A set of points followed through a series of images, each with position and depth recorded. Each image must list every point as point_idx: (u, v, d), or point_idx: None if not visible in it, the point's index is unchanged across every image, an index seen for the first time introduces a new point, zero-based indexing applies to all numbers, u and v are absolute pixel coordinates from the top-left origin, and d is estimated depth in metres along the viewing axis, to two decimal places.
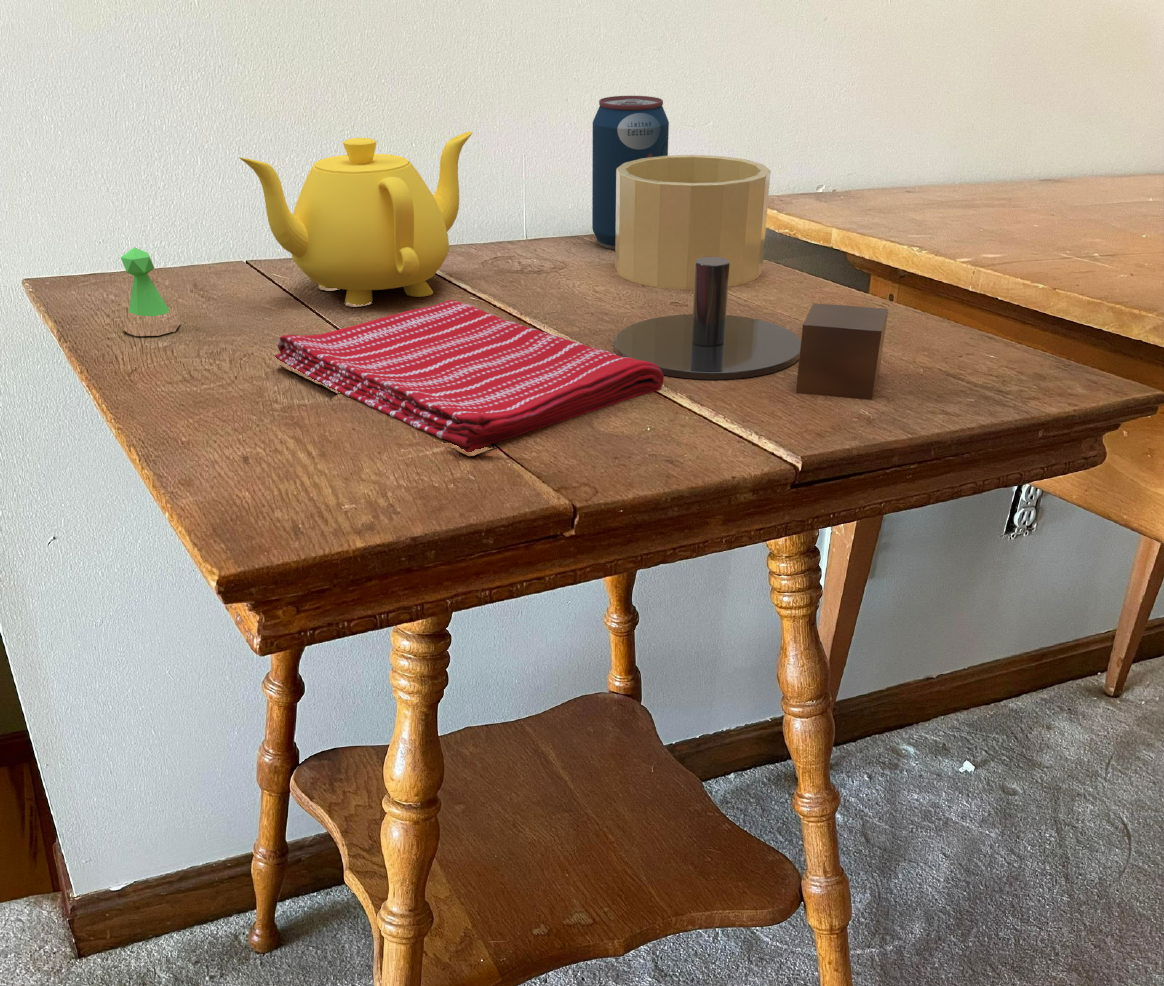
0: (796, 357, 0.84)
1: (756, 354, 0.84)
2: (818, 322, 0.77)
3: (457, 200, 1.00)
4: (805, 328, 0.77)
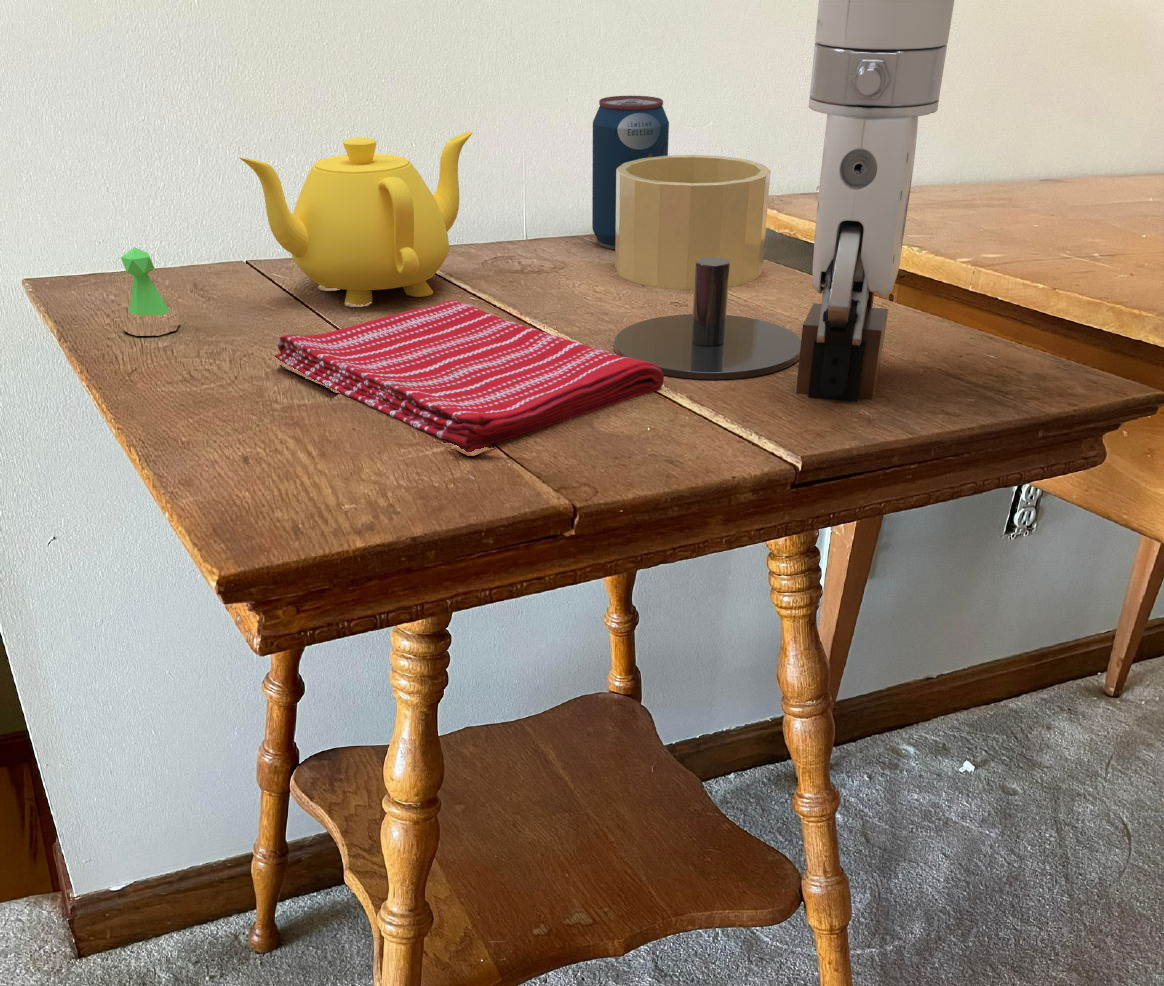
0: (796, 357, 0.84)
1: (756, 354, 0.84)
2: (818, 322, 0.77)
3: (457, 200, 1.00)
4: (805, 328, 0.77)
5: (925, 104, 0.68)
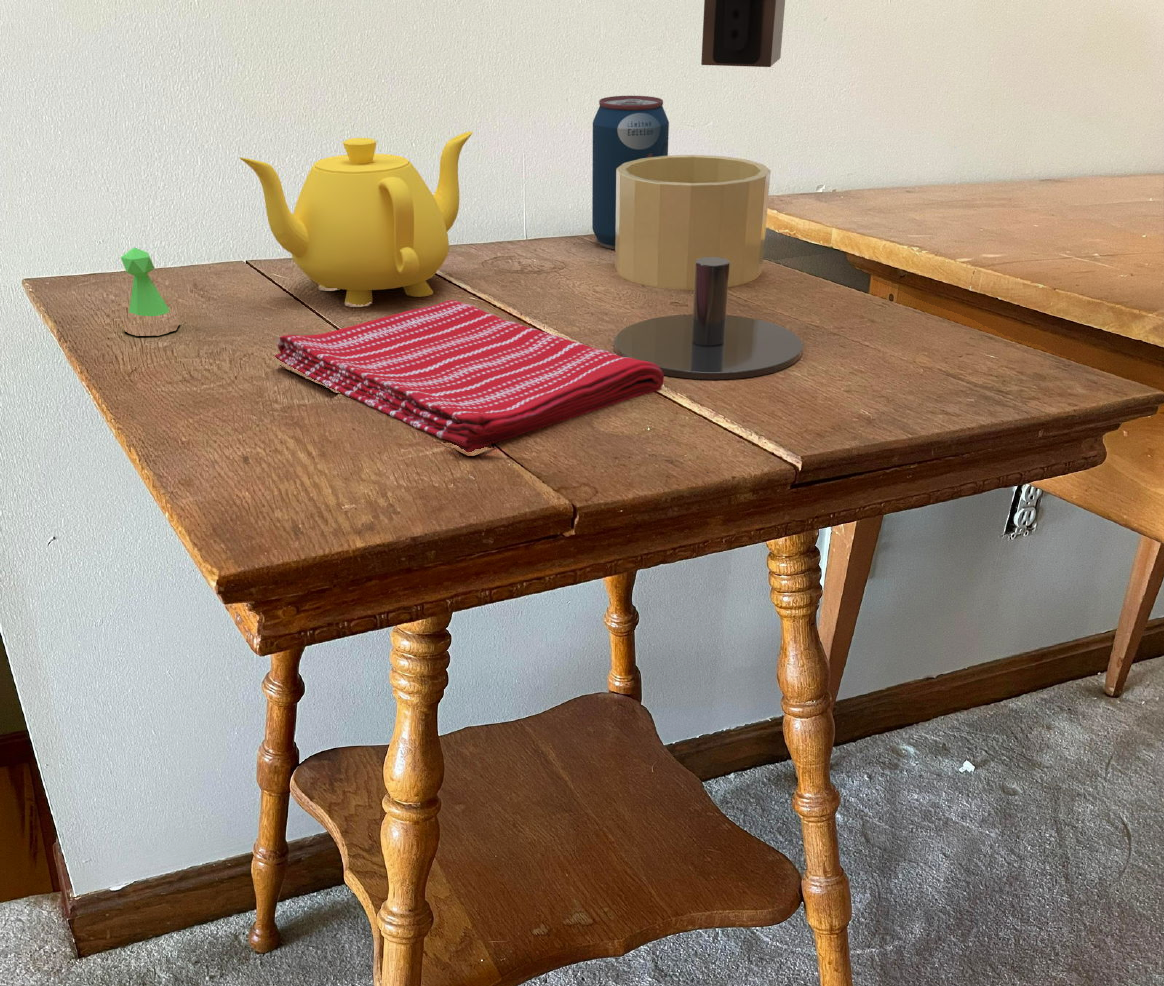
0: (796, 357, 0.84)
1: (756, 354, 0.84)
2: None
3: (457, 200, 1.00)
4: None
5: None
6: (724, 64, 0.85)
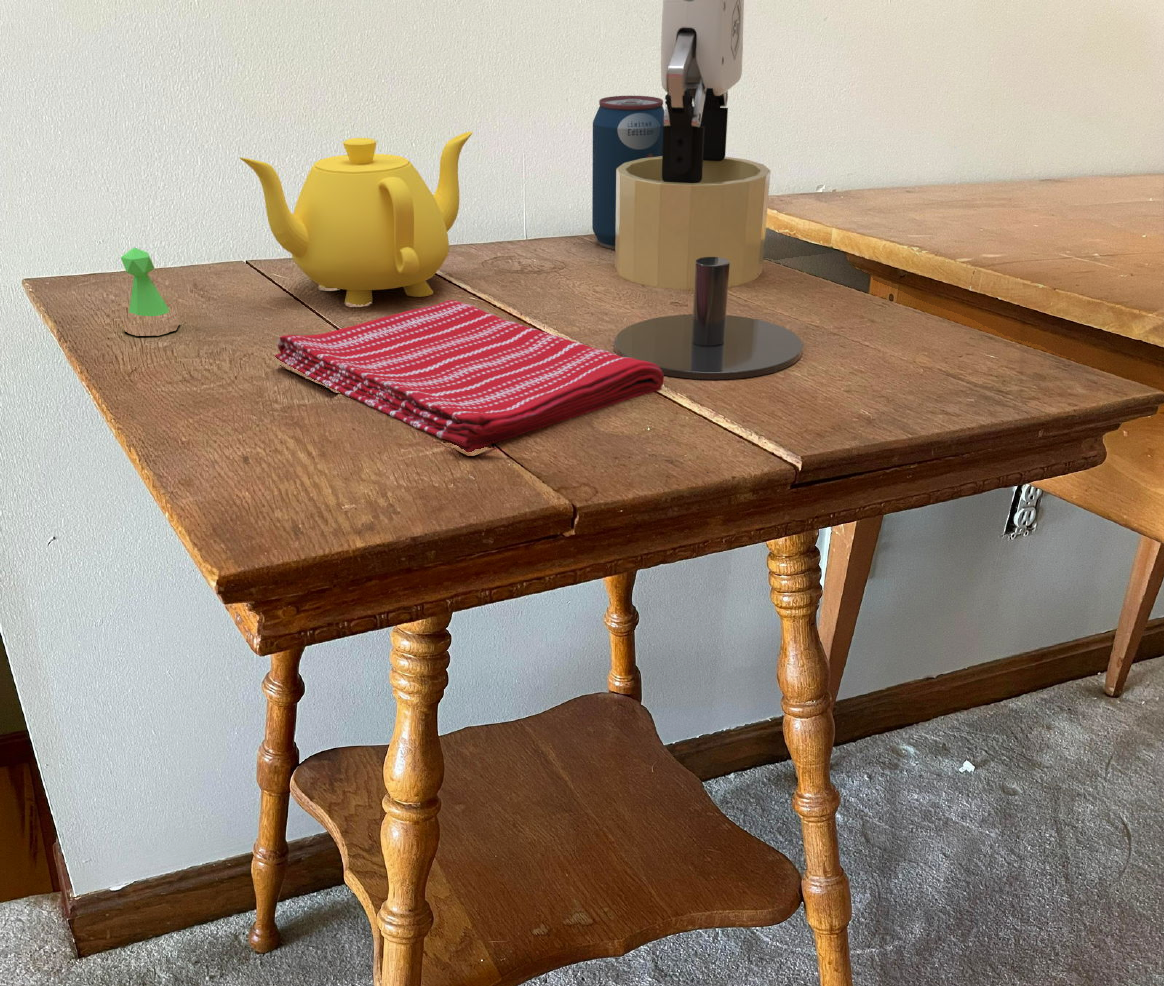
0: (796, 357, 0.84)
1: (756, 354, 0.84)
2: None
3: (457, 200, 1.00)
4: None
5: None
6: None
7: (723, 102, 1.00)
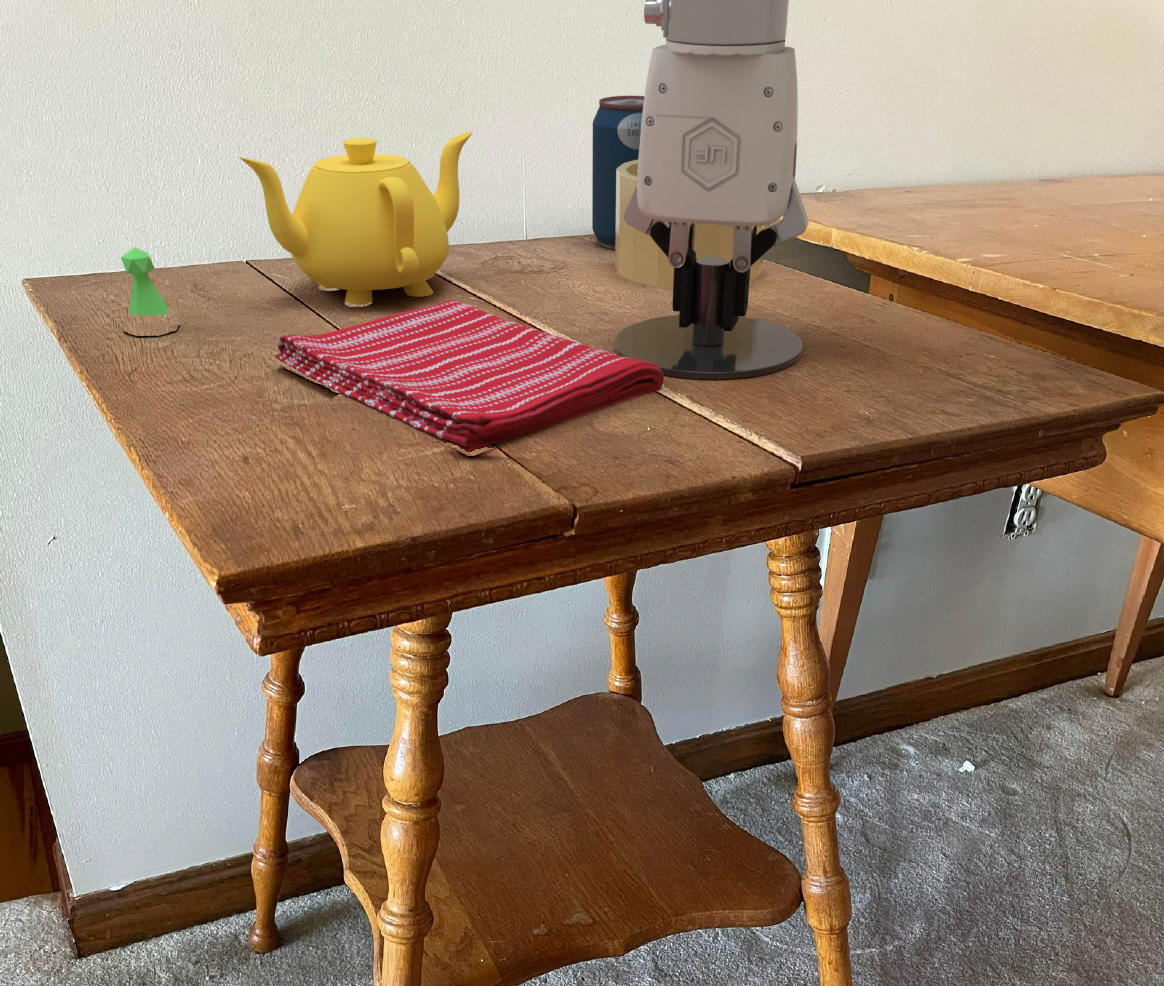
0: (796, 357, 0.84)
1: (756, 354, 0.84)
2: None
3: (457, 200, 1.00)
4: None
5: (687, 43, 0.73)
6: None
7: (733, 259, 0.81)
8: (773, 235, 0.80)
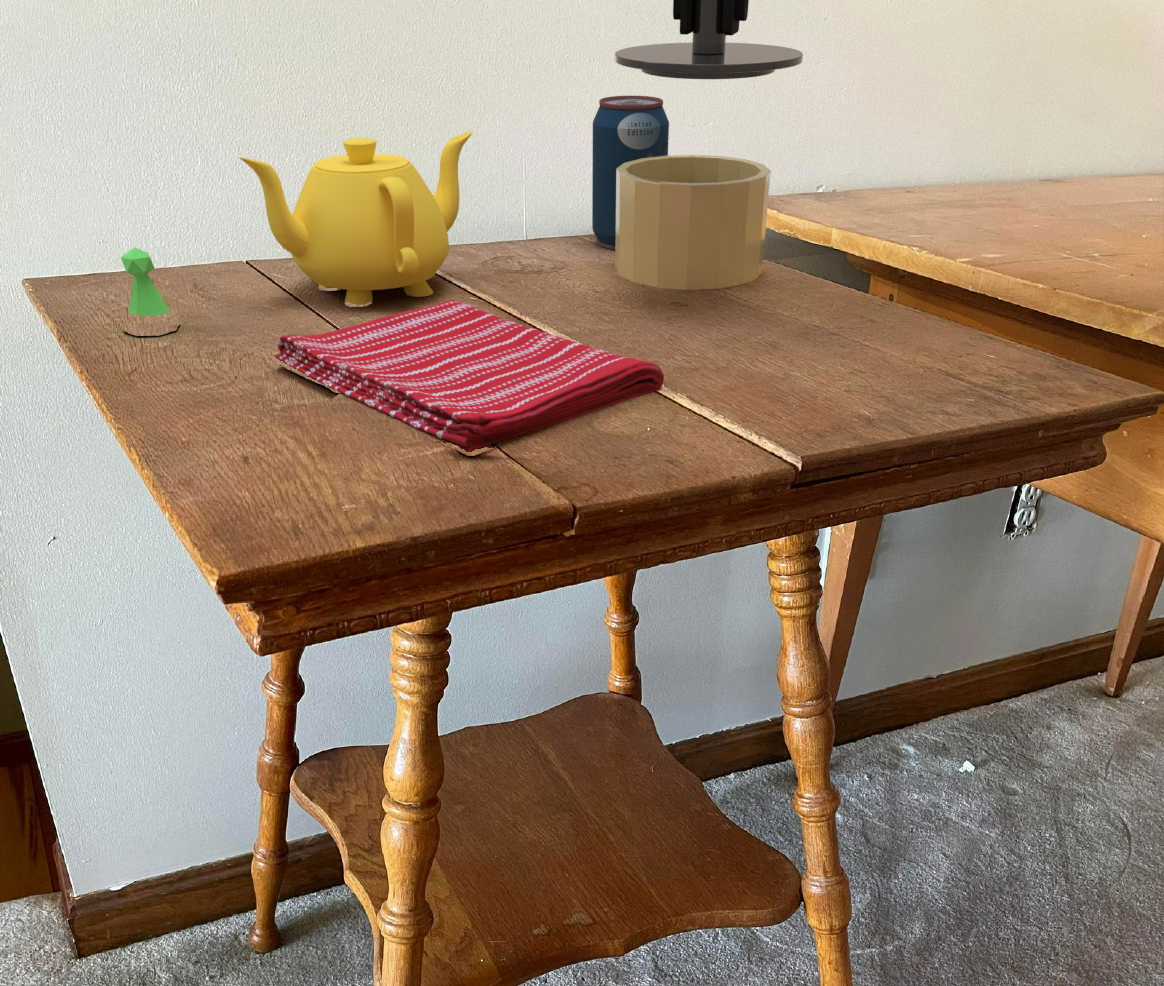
0: (797, 59, 0.84)
1: (757, 57, 0.84)
2: None
3: (457, 200, 1.00)
4: None
5: None
6: None
7: None
8: None
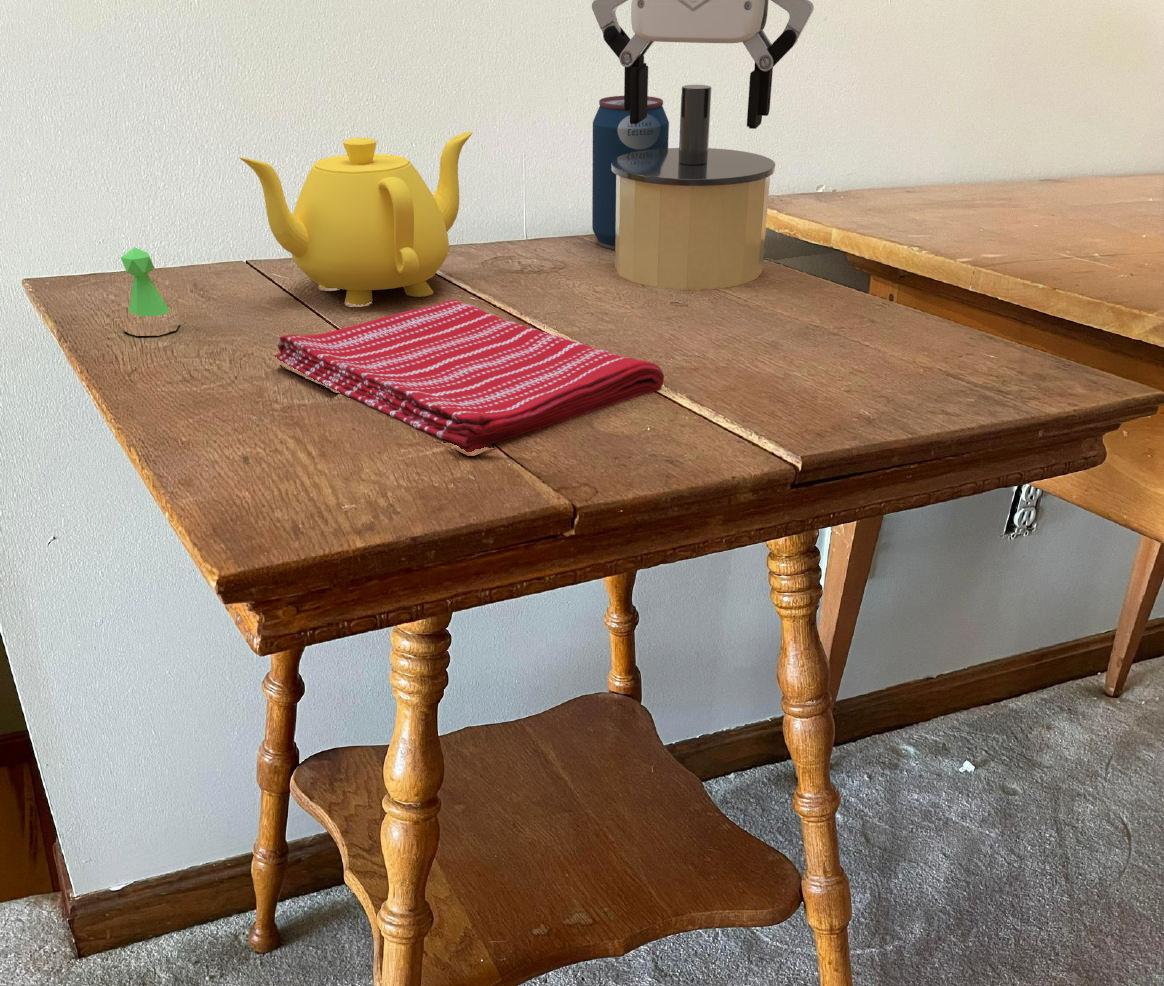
0: (769, 171, 0.97)
1: (734, 169, 0.97)
2: None
3: (457, 200, 1.00)
4: None
5: None
6: None
7: (757, 64, 0.93)
8: (790, 32, 0.91)
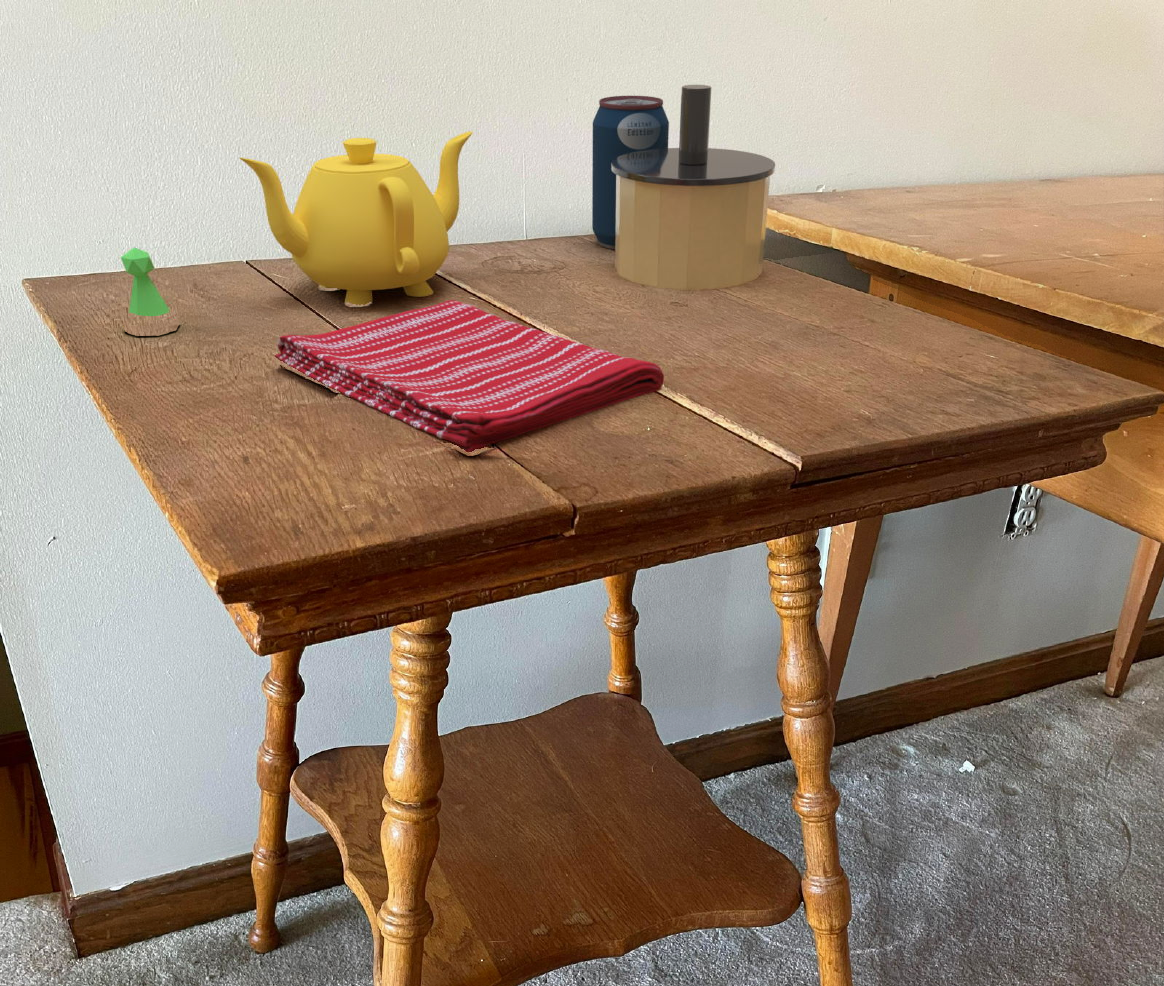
0: (769, 171, 0.97)
1: (734, 169, 0.97)
2: None
3: (457, 200, 1.00)
4: None
5: None
6: None
7: None
8: None
